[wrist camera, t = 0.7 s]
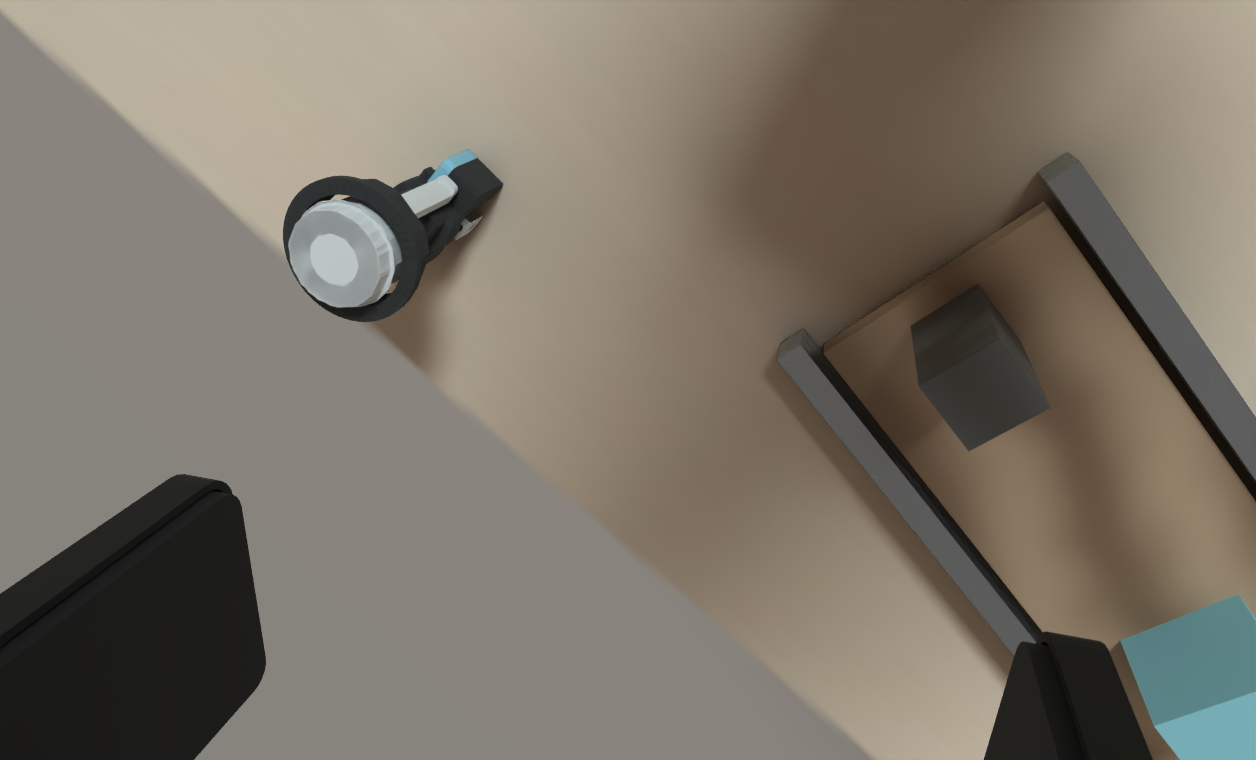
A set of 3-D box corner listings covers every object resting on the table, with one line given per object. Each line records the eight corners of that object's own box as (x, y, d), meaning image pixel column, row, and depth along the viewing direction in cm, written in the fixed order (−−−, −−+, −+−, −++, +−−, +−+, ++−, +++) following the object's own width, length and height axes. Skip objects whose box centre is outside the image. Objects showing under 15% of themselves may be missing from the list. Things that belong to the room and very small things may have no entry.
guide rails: (1067, 151, 32) (1080, 161, 30) (1471, 738, 37) (1502, 775, 35) (780, 342, 38) (776, 360, 36) (1165, 826, 43) (1178, 861, 41)
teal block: (1238, 594, 36) (1291, 679, 31) (1298, 677, 36) (1359, 772, 32) (1120, 640, 38) (1153, 726, 33) (1179, 718, 39) (1220, 811, 34)
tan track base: (1043, 201, 32) (1087, 252, 26) (1422, 740, 37) (1537, 893, 31) (824, 342, 37) (816, 416, 30) (1190, 808, 42) (1248, 954, 35)
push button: (448, 296, 41) (332, 380, 32) (365, 216, 40) (224, 279, 31) (533, 200, 38) (432, 264, 29) (445, 112, 37) (314, 150, 28)
